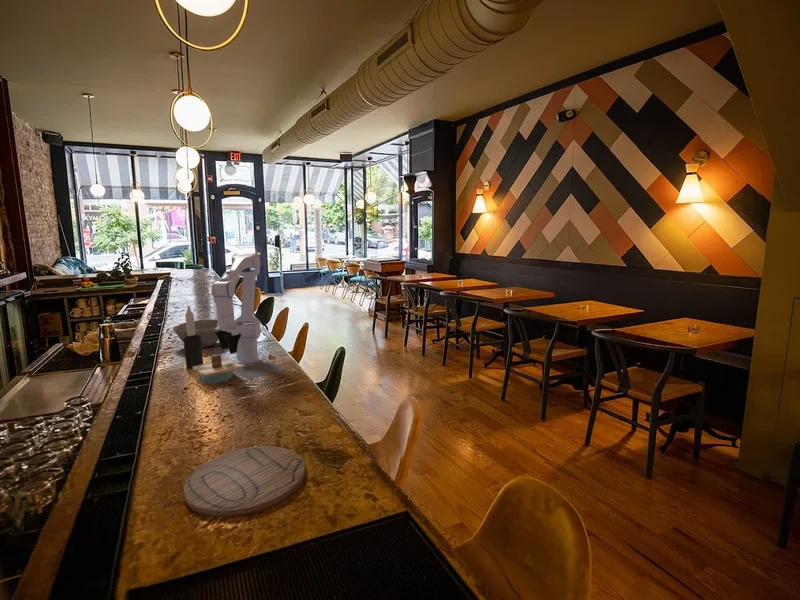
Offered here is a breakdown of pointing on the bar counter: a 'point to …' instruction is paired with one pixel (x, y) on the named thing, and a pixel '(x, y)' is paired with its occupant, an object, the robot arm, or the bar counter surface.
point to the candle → (192, 343)
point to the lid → (216, 366)
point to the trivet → (244, 481)
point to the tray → (259, 370)
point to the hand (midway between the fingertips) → (229, 350)
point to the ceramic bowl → (200, 331)
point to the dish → (217, 378)
